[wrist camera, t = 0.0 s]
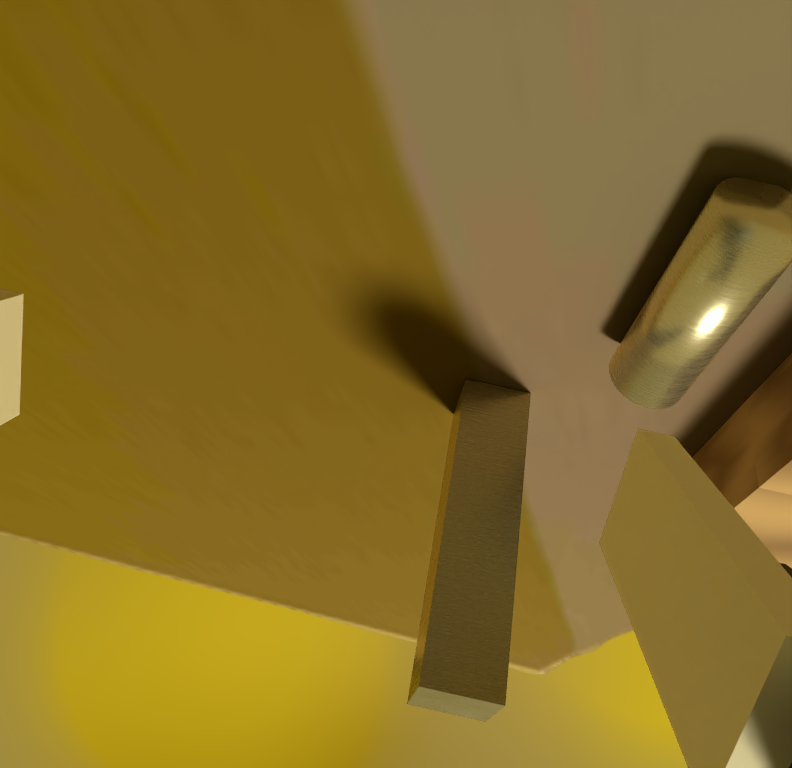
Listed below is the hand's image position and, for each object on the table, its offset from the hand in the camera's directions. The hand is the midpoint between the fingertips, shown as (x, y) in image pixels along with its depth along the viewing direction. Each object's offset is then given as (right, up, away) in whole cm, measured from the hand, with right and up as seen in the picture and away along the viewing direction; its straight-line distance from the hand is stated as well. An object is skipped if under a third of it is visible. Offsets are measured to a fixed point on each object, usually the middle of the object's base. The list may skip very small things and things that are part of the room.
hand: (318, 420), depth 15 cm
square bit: (+7, 0, +24) cm, 25 cm away
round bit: (+14, +5, +15) cm, 21 cm away
